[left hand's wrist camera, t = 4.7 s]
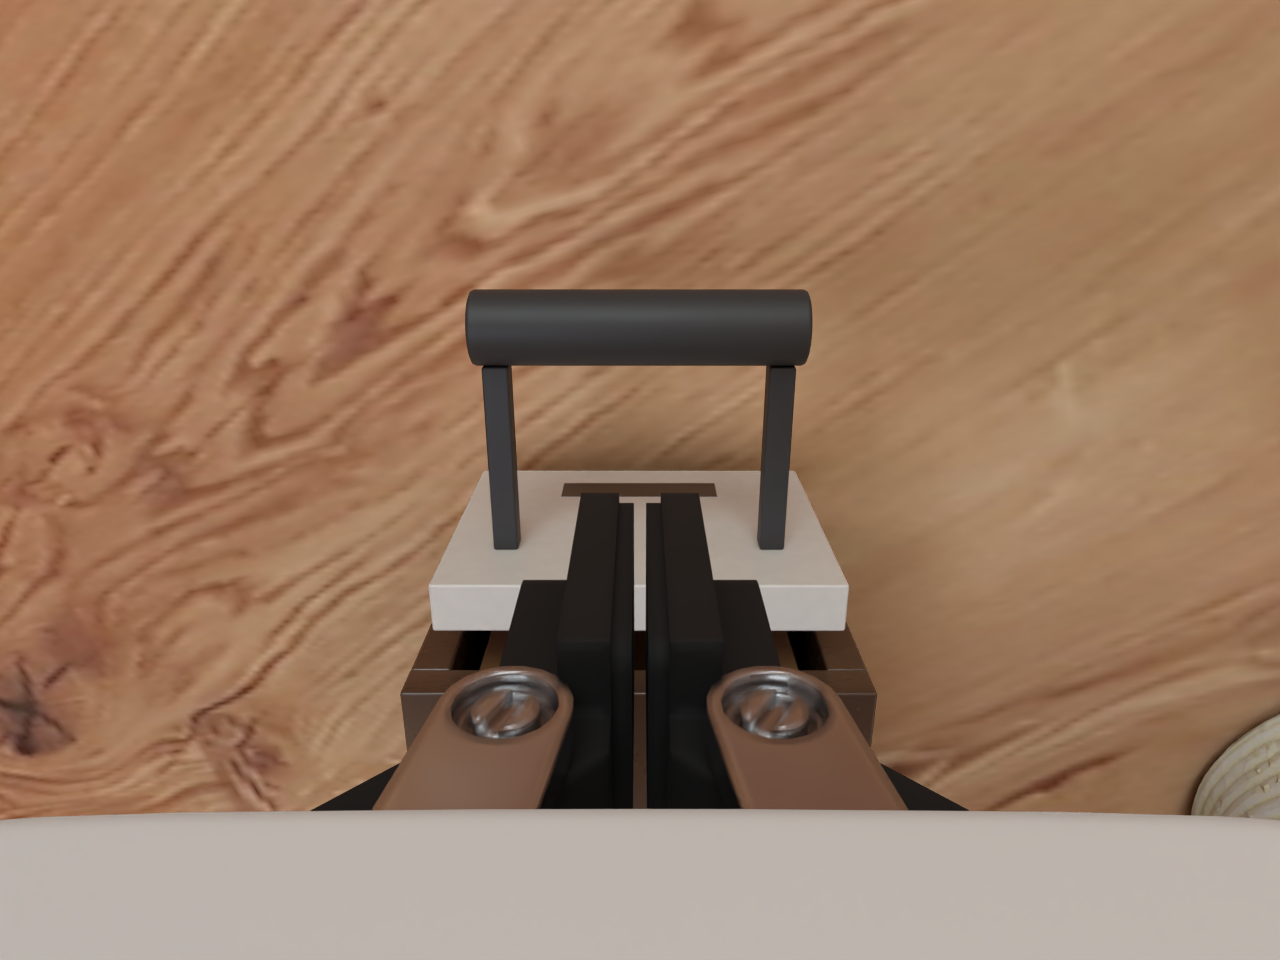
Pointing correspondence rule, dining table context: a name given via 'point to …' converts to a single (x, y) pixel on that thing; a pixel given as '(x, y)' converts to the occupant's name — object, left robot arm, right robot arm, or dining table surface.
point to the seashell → (1244, 777)
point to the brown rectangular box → (635, 682)
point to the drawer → (549, 500)
